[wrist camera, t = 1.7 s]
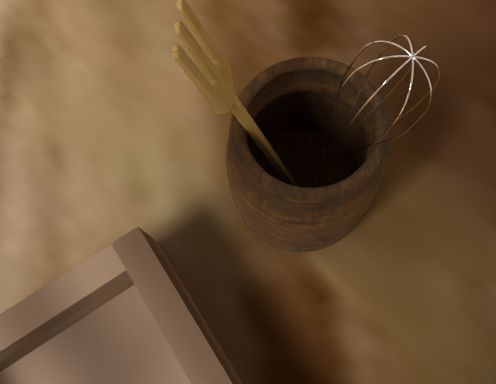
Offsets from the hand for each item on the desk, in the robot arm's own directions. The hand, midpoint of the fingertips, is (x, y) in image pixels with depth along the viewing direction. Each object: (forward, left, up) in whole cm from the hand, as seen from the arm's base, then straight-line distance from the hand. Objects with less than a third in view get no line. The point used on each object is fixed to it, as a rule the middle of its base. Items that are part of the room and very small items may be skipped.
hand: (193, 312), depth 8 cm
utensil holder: (+5, +4, -13) cm, 14 cm away
